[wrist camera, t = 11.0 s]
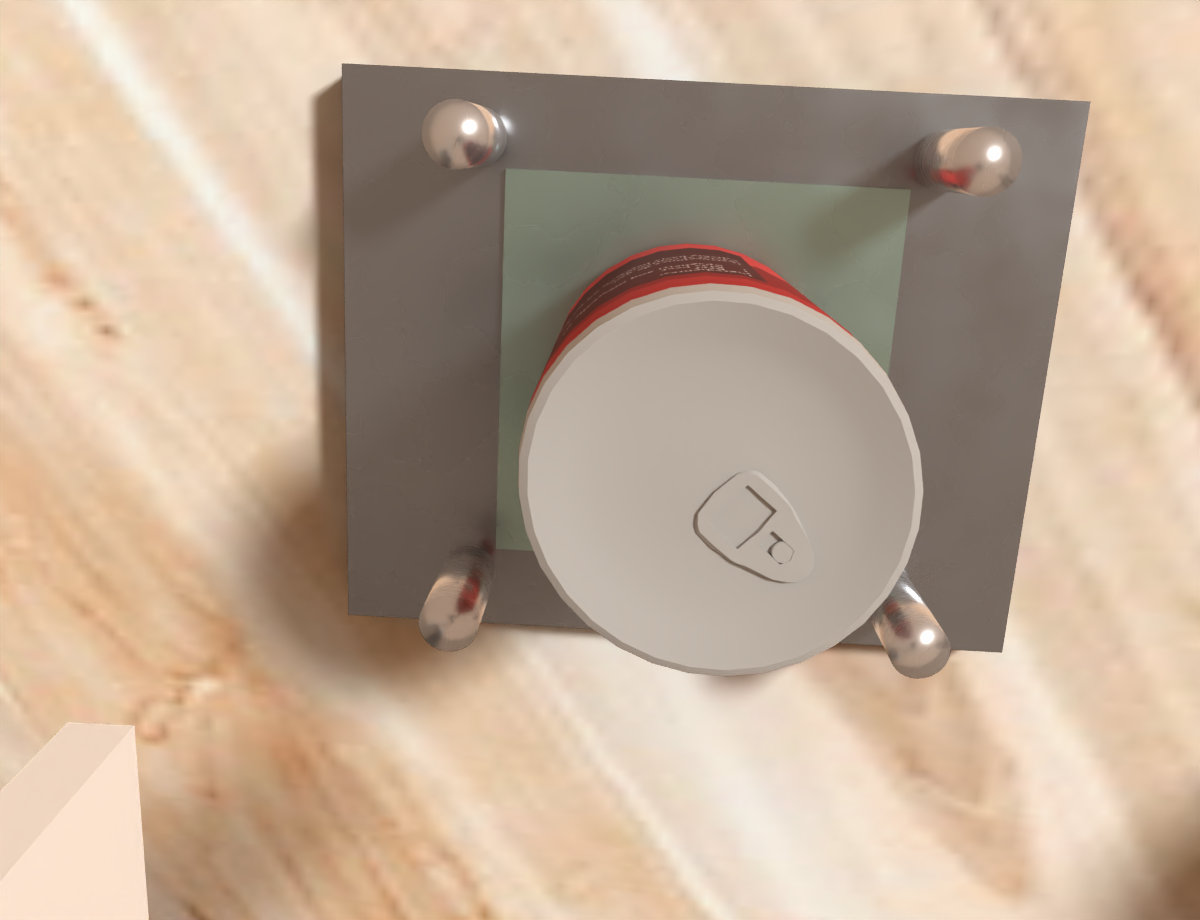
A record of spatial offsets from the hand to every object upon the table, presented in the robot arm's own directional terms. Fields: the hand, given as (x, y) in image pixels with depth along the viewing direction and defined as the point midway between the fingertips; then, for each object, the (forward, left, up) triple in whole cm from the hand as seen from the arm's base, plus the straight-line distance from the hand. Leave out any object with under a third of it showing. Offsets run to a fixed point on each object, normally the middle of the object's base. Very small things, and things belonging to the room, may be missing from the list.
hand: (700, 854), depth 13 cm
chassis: (+1, +2, -22) cm, 22 cm away
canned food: (+1, +2, -20) cm, 20 cm away
